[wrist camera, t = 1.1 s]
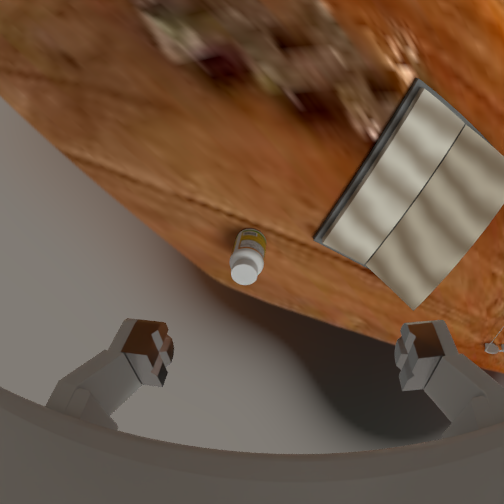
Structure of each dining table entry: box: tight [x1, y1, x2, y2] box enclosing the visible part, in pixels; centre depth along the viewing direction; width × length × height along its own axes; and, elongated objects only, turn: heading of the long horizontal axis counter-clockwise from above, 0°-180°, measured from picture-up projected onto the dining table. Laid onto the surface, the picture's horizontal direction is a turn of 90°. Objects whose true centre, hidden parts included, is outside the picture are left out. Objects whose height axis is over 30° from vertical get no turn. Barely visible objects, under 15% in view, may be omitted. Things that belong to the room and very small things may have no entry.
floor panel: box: [313, 78, 493, 269], centre depth 45 cm, size 32×25×2 cm
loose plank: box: [366, 125, 504, 311], centre depth 43 cm, size 30×12×2 cm
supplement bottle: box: [230, 229, 266, 285], centre depth 51 cm, size 5×5×10 cm
